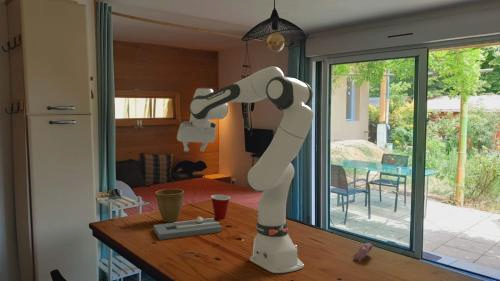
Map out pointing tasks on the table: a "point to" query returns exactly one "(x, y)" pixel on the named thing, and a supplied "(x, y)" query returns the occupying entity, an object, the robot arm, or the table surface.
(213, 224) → the hole board
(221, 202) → the plastic cup
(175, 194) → the plant pot
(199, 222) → the ball
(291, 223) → the table surface
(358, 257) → the pink plastic figure
